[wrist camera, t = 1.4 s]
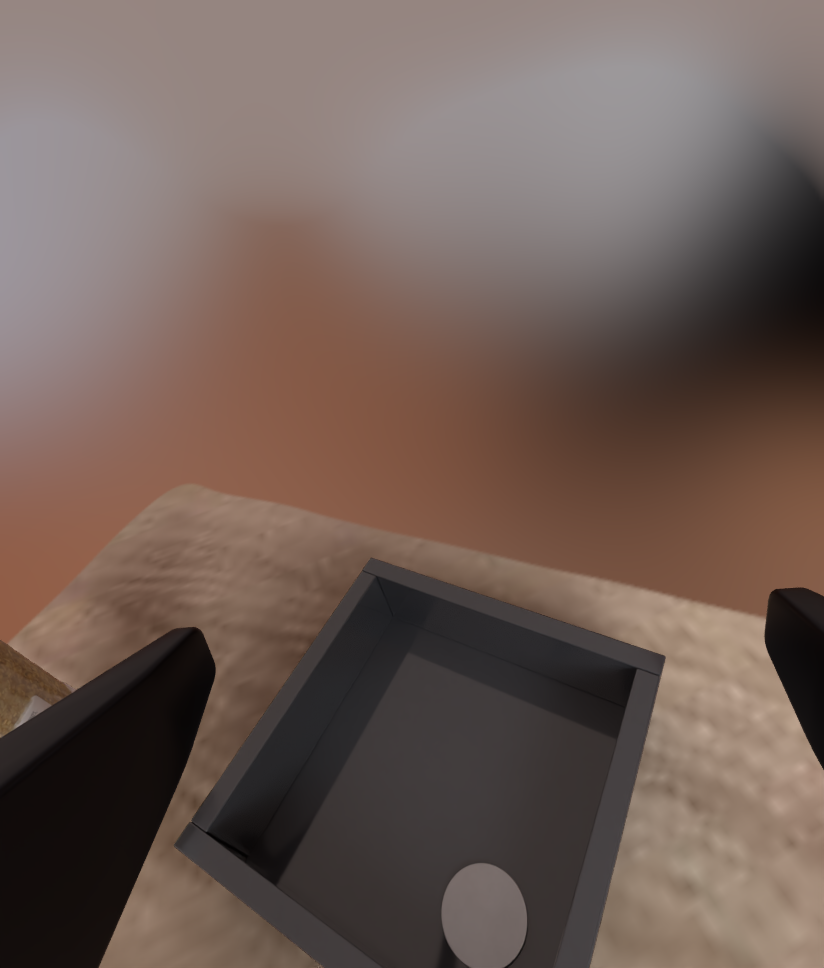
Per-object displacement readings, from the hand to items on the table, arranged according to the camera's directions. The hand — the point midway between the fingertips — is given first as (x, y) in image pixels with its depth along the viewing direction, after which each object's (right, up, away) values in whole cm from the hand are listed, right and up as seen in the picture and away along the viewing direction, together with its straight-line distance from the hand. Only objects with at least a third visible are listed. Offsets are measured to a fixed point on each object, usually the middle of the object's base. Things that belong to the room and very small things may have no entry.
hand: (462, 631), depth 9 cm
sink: (+1, -10, +12) cm, 16 cm away
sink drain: (+2, -12, +9) cm, 15 cm away
